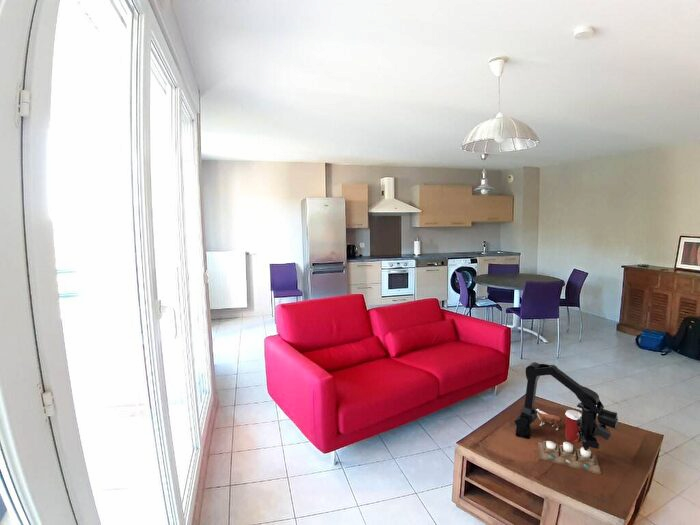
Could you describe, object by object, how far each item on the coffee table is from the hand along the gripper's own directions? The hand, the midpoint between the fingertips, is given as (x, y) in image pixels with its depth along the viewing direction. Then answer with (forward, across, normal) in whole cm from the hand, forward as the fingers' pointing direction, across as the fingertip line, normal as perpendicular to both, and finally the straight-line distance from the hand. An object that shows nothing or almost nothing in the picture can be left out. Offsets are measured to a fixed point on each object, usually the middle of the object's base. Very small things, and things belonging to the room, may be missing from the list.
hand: (585, 450), depth 161 cm
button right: (+4, 0, 0) cm, 4 cm away
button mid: (+3, 0, +7) cm, 8 cm away
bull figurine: (+6, +24, +14) cm, 28 cm away
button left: (+5, 0, +14) cm, 15 cm away
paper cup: (+6, +17, +3) cm, 18 cm away
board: (+6, -1, +7) cm, 9 cm away
